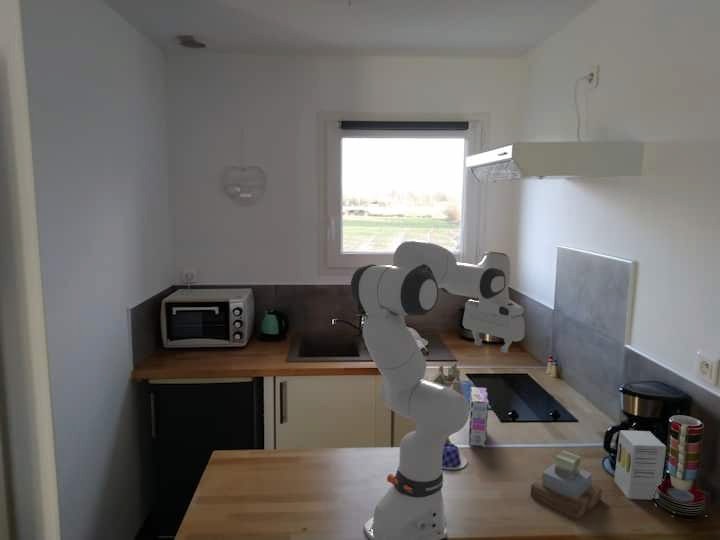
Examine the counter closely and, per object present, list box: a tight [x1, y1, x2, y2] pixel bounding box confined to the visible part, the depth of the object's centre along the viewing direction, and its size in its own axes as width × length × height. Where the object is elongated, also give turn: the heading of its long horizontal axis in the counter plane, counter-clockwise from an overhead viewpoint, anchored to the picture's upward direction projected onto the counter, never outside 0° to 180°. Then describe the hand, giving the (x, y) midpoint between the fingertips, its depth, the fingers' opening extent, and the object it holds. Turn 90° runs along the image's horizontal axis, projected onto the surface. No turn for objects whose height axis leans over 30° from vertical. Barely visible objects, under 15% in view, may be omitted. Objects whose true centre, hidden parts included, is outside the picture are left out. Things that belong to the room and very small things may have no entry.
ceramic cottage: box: [430, 361, 464, 396], centre depth 217 cm, size 16×16×15 cm
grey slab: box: [541, 462, 593, 500], centre depth 149 cm, size 10×10×4 cm
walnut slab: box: [530, 477, 603, 520], centre depth 149 cm, size 14×14×4 cm
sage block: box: [554, 450, 582, 480], centre depth 148 cm, size 5×5×5 cm
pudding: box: [442, 442, 468, 470], centre depth 168 cm, size 12×12×5 cm
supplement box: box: [613, 429, 667, 501], centre depth 152 cm, size 10×9×17 cm
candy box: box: [468, 386, 489, 448], centre depth 183 cm, size 14×6×16 cm, turn 168°
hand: (490, 348), depth 159 cm, fingers open, 8 cm apart
